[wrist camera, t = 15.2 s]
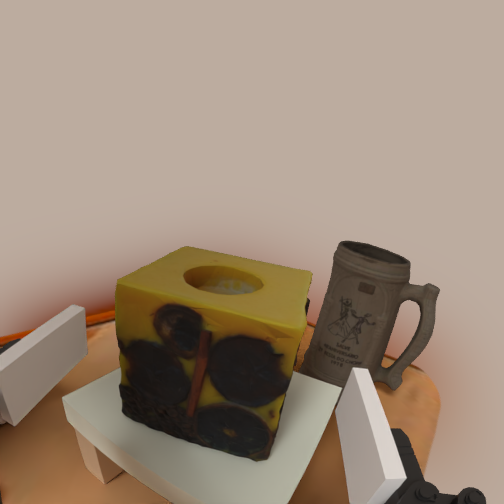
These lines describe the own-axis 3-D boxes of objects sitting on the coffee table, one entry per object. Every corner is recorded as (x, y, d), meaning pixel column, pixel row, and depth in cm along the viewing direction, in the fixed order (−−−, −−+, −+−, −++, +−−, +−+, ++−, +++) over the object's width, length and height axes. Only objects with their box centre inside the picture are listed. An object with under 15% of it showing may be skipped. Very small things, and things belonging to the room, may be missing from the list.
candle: (287, 380, 26) (316, 271, 23) (269, 468, 16) (314, 331, 14) (176, 350, 27) (186, 242, 25) (117, 417, 17) (111, 278, 15)
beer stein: (280, 385, 39) (328, 241, 33) (307, 353, 48) (348, 233, 42) (384, 430, 32) (458, 290, 27) (393, 389, 41) (448, 270, 36)
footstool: (81, 467, 20) (61, 397, 17) (184, 393, 34) (190, 328, 32) (243, 572, 13) (270, 533, 11) (313, 451, 27) (342, 388, 25)
